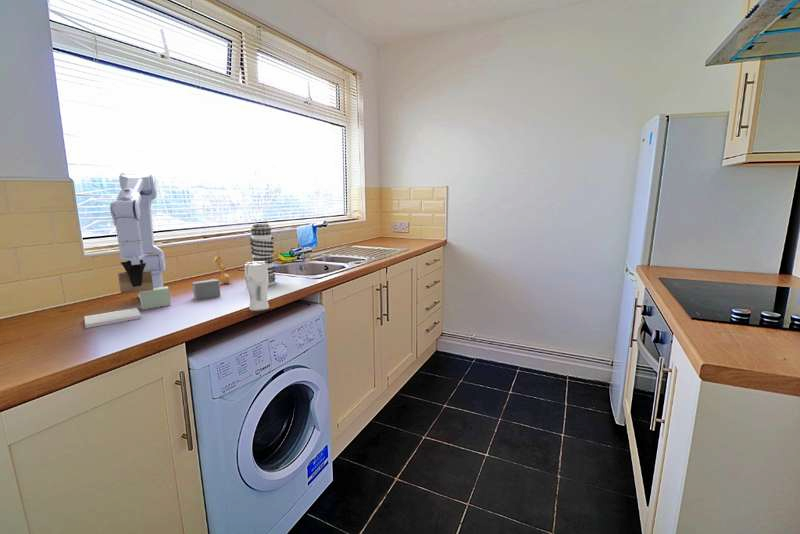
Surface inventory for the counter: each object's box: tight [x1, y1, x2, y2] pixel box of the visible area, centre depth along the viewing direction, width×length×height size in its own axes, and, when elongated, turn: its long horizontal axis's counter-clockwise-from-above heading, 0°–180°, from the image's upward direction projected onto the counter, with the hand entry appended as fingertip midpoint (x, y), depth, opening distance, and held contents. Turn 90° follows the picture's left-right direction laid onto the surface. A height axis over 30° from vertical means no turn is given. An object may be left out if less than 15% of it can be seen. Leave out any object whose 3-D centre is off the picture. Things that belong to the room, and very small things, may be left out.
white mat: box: [84, 307, 142, 329], centre depth 113 cm, size 10×13×1 cm
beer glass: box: [244, 261, 270, 312], centre depth 121 cm, size 7×7×15 cm
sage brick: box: [138, 285, 172, 310], centre depth 125 cm, size 4×8×6 cm, turn 131°
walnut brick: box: [117, 270, 153, 295], centre depth 115 cm, size 4×8×6 cm, turn 131°
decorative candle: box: [249, 222, 276, 286], centre depth 155 cm, size 9×9×25 cm
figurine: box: [212, 254, 232, 285], centre depth 157 cm, size 8×6×12 cm
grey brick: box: [191, 278, 221, 301], centre depth 136 cm, size 4×8×6 cm, turn 131°
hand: (136, 285), depth 115 cm, fingers closed on walnut brick, 3 cm apart
